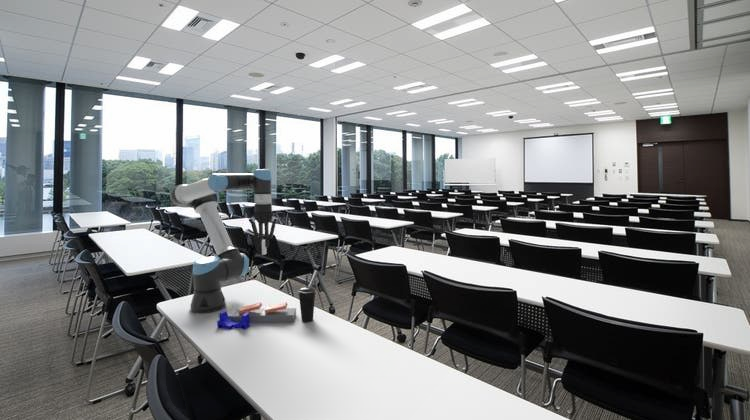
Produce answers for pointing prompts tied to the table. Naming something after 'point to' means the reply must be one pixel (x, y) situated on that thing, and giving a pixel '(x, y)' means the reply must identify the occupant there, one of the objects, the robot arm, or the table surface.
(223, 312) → the cable clip
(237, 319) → the power strip
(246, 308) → the rocker
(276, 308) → the rocker
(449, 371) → the table surface
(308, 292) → the drinking cup
